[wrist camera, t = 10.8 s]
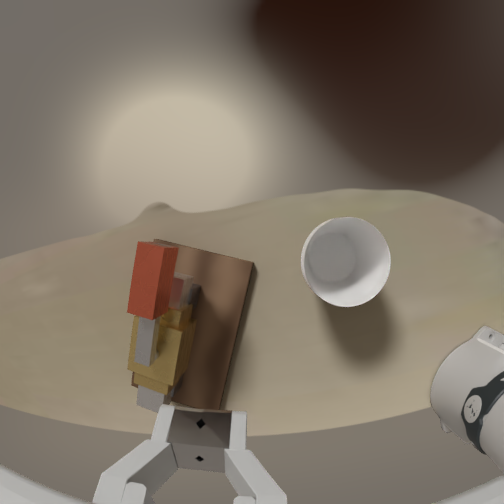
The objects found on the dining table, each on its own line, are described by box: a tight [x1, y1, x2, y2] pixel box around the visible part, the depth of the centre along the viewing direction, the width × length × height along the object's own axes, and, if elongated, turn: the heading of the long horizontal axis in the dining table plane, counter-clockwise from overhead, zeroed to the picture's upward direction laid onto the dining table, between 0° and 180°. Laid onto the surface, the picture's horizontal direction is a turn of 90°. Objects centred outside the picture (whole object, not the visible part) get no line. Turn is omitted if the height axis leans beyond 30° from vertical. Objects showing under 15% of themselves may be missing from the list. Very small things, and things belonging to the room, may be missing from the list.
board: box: [132, 239, 254, 410], centre depth 43 cm, size 14×23×2 cm, turn 167°
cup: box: [301, 217, 391, 307], centre depth 36 cm, size 9×9×12 cm
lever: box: [127, 242, 179, 367], centre depth 31 cm, size 13×3×5 cm, turn 168°
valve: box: [128, 272, 201, 413], centre depth 38 cm, size 6×18×8 cm, turn 167°
